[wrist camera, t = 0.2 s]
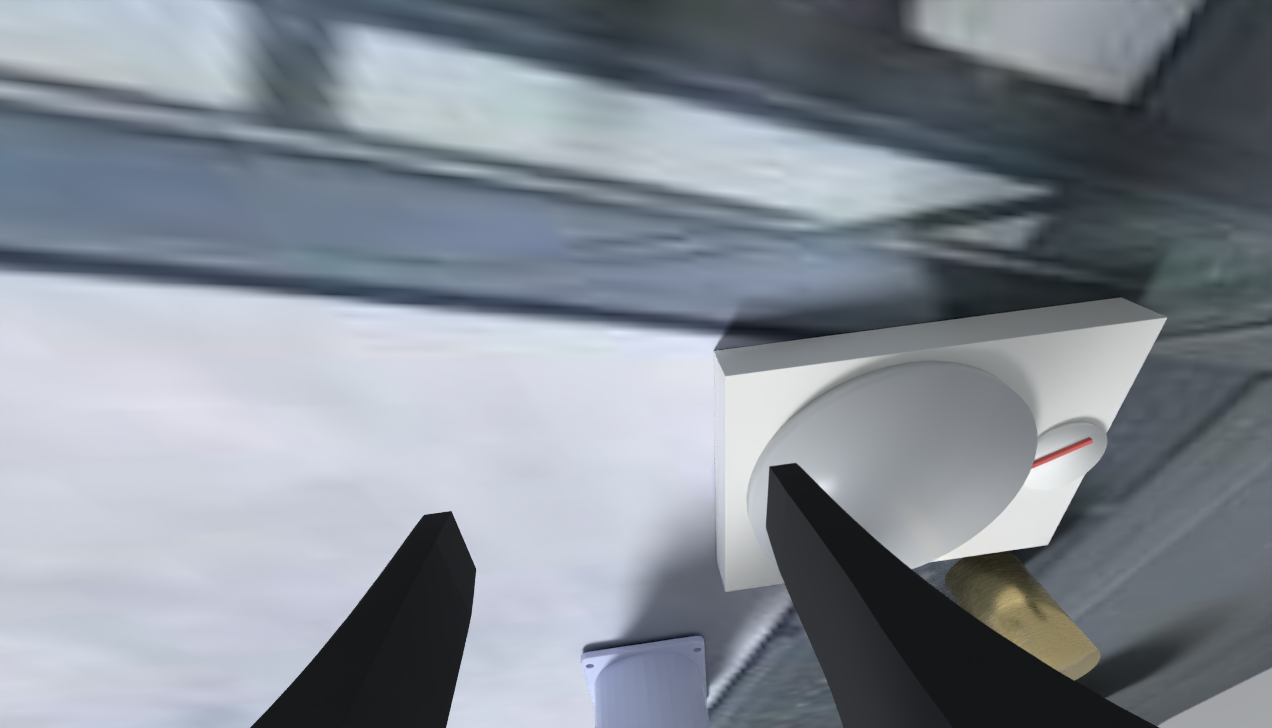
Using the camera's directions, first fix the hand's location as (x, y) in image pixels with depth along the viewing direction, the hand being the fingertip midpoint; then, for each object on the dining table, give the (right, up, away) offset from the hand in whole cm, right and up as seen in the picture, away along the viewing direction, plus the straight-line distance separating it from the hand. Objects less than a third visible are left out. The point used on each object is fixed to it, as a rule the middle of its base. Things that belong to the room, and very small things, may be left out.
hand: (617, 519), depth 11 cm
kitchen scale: (+13, -1, +14) cm, 19 cm away
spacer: (+22, -10, +20) cm, 32 cm away
